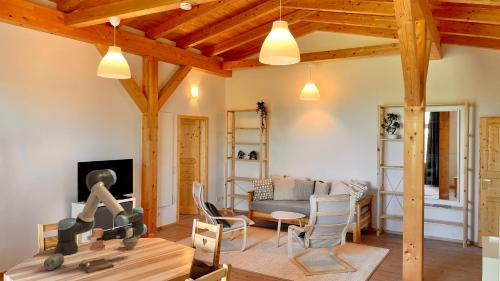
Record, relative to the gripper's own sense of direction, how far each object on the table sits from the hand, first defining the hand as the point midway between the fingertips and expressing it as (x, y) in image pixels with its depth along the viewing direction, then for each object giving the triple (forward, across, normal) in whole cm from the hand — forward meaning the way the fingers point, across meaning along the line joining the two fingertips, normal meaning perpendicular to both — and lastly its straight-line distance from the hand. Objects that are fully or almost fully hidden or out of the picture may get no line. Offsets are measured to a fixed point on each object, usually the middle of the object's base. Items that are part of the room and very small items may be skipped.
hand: (89, 239), depth 228 cm
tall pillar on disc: (-5, 0, -7) cm, 9 cm away
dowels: (+2, 0, -17) cm, 17 cm away
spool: (+15, +16, -19) cm, 29 cm away
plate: (-5, 0, -19) cm, 19 cm away
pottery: (-43, +26, -19) cm, 53 cm away
